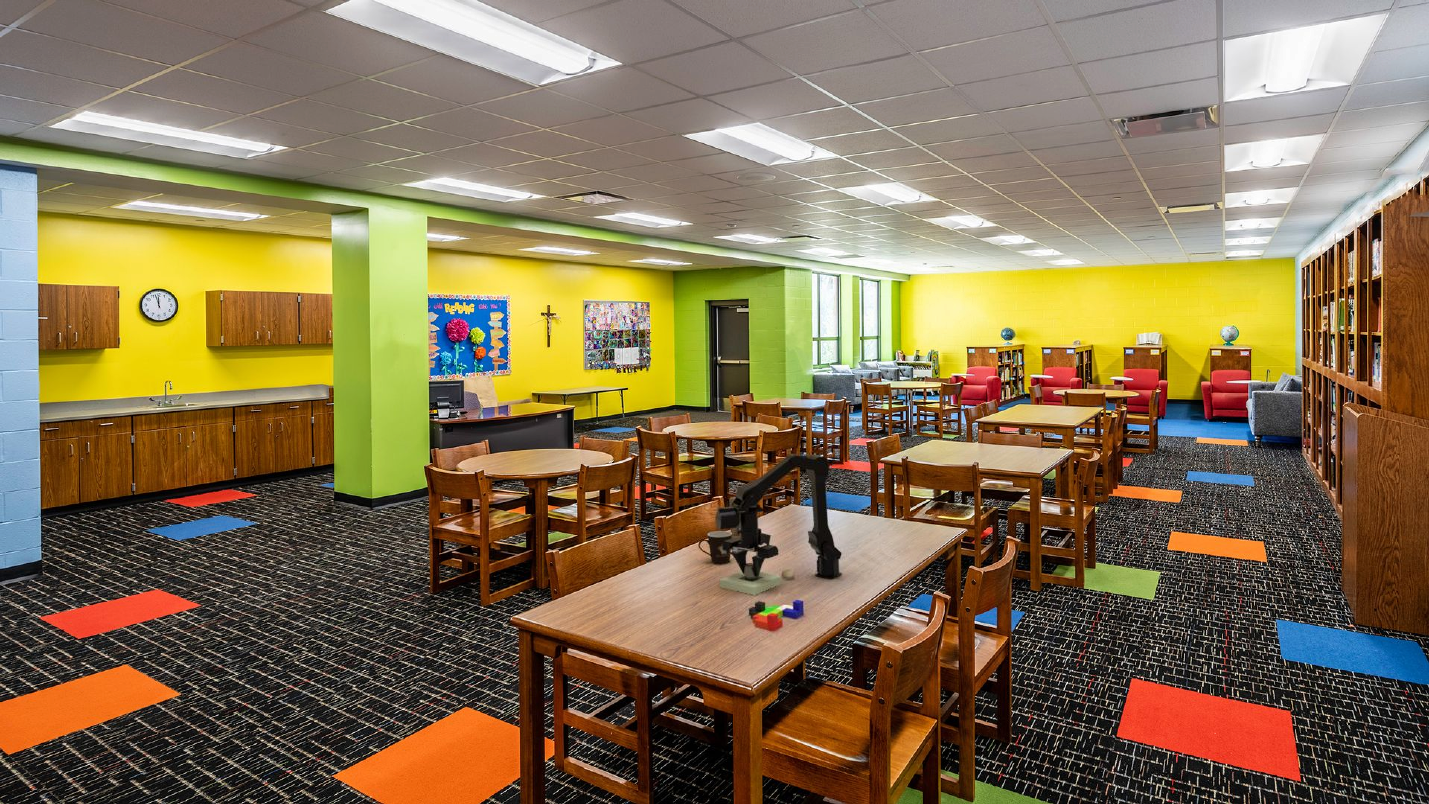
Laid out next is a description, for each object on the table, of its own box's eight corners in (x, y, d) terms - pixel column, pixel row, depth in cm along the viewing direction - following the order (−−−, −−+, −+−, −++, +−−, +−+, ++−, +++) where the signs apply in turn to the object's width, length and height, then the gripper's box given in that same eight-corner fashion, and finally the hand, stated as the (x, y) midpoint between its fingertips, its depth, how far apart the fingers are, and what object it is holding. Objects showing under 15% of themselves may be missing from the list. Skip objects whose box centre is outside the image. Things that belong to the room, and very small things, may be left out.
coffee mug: (733, 558, 279) (732, 531, 279) (732, 565, 271) (731, 536, 270) (701, 558, 281) (700, 531, 280) (698, 565, 272) (697, 537, 271)
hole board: (782, 583, 248) (781, 576, 248) (754, 595, 237) (754, 587, 237) (747, 576, 257) (747, 569, 257) (719, 587, 247) (719, 579, 247)
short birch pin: (796, 578, 254) (796, 570, 254) (789, 581, 251) (789, 573, 251) (786, 576, 257) (786, 568, 256) (779, 579, 254) (779, 571, 253)
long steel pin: (760, 585, 248) (759, 564, 247) (752, 589, 245) (751, 567, 244) (750, 583, 250) (749, 562, 250) (742, 586, 247) (741, 565, 247)
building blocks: (766, 607, 228) (765, 593, 227) (804, 615, 220) (803, 600, 219) (735, 623, 216) (734, 607, 216) (774, 632, 208) (773, 616, 208)
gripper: (788, 525, 246) (789, 573, 247) (742, 517, 258) (744, 564, 259) (766, 532, 237) (768, 582, 239) (720, 524, 250) (722, 572, 251)
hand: (750, 574), depth 247 cm, fingers open, 5 cm apart
